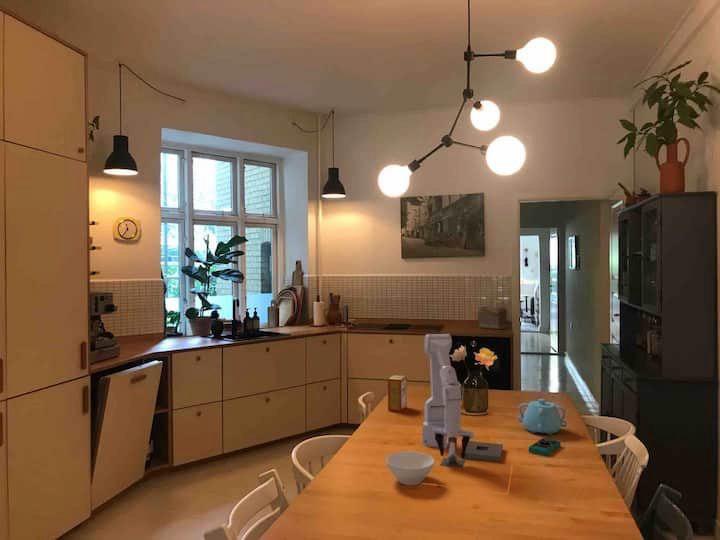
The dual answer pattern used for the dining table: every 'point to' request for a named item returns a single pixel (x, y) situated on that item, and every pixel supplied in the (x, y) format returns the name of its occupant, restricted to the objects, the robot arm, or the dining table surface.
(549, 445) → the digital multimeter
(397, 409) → the baking soda box
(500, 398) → the dining table surface
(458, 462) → the key mat
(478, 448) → the chuck block
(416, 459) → the bowl
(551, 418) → the decorative pot
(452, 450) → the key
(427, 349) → the robot arm
